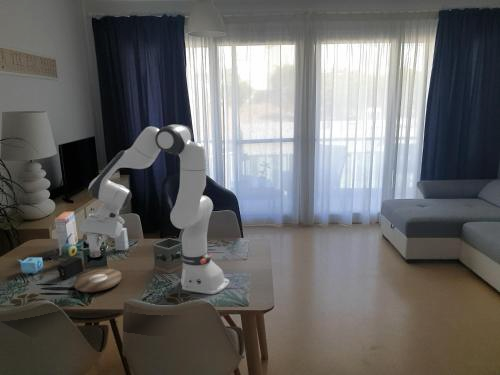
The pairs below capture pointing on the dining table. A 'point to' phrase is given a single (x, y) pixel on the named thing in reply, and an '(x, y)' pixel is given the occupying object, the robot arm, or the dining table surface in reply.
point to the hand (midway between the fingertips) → (93, 244)
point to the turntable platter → (97, 280)
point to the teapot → (31, 265)
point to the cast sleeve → (94, 245)
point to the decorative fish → (70, 249)
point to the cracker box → (66, 229)
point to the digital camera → (70, 268)
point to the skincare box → (122, 240)
